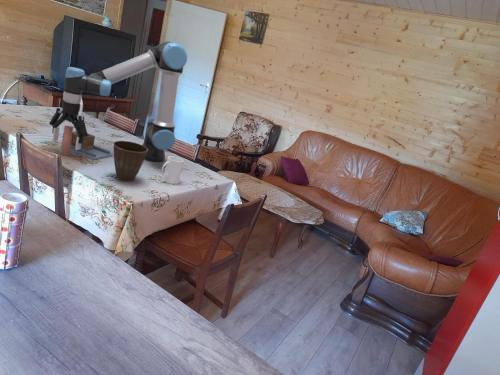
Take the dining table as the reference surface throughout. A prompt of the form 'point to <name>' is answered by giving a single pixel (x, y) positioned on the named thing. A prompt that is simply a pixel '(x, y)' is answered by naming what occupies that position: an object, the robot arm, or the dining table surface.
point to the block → (84, 141)
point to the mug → (172, 170)
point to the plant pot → (128, 159)
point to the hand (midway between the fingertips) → (66, 144)
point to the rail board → (91, 152)
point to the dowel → (67, 140)
